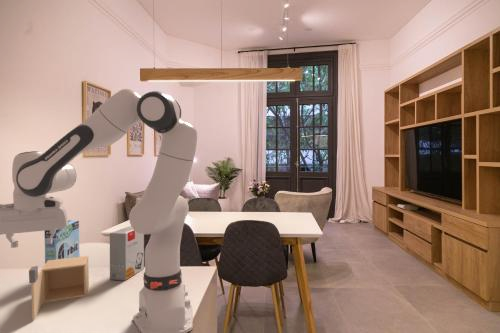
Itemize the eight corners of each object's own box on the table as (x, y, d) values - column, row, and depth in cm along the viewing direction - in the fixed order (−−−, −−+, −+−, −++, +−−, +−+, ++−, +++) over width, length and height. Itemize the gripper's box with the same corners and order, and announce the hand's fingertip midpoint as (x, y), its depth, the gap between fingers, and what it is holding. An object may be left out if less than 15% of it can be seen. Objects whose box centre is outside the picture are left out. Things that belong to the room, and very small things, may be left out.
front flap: (30, 320, 102) (28, 270, 102) (39, 302, 114) (37, 258, 114) (36, 319, 103) (34, 269, 102) (44, 302, 115) (43, 258, 114)
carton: (86, 296, 121) (85, 264, 120) (42, 302, 115) (41, 269, 115) (88, 285, 131) (88, 255, 131) (48, 290, 126) (48, 260, 125)
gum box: (69, 269, 151) (68, 220, 150) (80, 268, 151) (79, 220, 150) (44, 285, 131) (43, 229, 131) (57, 285, 131) (56, 229, 131)
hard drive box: (125, 281, 135) (124, 233, 134) (109, 280, 136) (108, 233, 136) (144, 268, 150) (144, 226, 150) (129, 267, 152) (129, 225, 151)
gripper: (-14, 206, 96) (-12, 252, 97) (64, 201, 104) (66, 243, 104) (-6, 203, 102) (-4, 246, 103) (67, 199, 110) (69, 239, 110)
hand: (32, 245), depth 103 cm, fingers open, 8 cm apart
